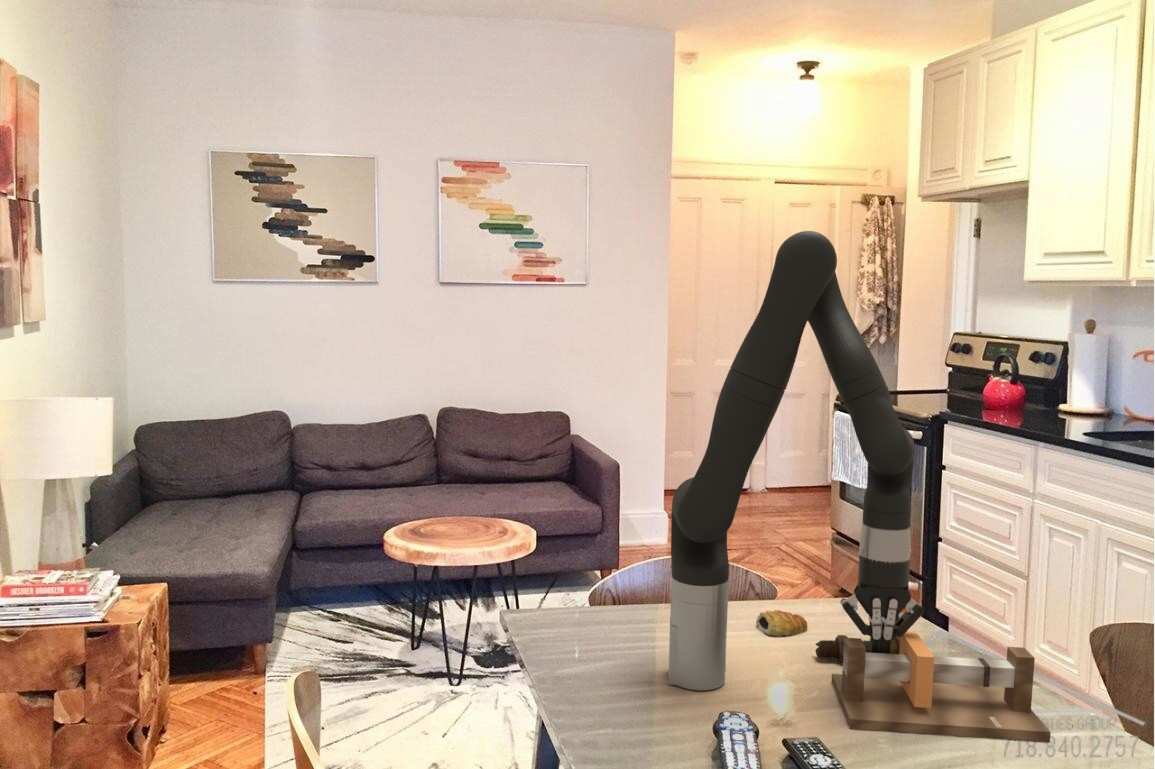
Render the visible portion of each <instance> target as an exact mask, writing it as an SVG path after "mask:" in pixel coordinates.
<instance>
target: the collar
mask: <svg viewBox="0 0 1155 769" xmlns="http://www.w3.org/2000/svg"><path fill="white" fill-rule="evenodd" d="M900 654H902V655H908V657H909V658H910V660H911V676H910V681H900V683H901V684H902V686H903V688H904V690H905V691H906V693H907V695H908V696H909V698H910V700H911V702H912V703H913V705H914V707H924V708H931V704H932V688H933V671H934V654H933V653H932V652H931V650H930V649H929V648H928V646H927V645H926V644H925V642H924V641H923V639H922V638H921V637H920V635H919V634H918V632H917V631H907V632H906V633H905V634H904V635H903V636H901V638H900Z"/></svg>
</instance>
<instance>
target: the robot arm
mask: <svg viewBox="0 0 1155 769" xmlns="http://www.w3.org/2000/svg"><path fill="white" fill-rule="evenodd" d="M835 249H836V248H835V246H834V245H833V244H832V242H831V241H830V240H829V238H827V237H826V236H825V235H824V234H822V233H820V232H818V231H814V230H803V231H800V232H796V233H794V234H792V235H791V236H788V237H787V238H786V239H785V240H784V241H783V242H782V243H781V245H780V246H779V248H778V250H777V252H776V254H775V255H776V256H775V260H774V264H773V269H772V272H771V275H770V279H769V282H768V285H767V289H766V293H765V295H764V298H763V301H762V303H761V306H760V309H759V311H758V313H757V315H756V318H754V321H753V323H752V325H751V326H750V329H749V330H748V332H747V333H746V335H745V337H744V339H743V341H742V343H741V345H740V346H739V348H738V350H737V353H736V354H735V357H734V359H733V361H732V364H730V369H729V370H728V373H727V374H726V378H725V380H724V382H723V385H722V387H721V390H720V393H719V394H718V395H719V396H718V399H717V402H716V406H715V410H714V415H713V419H712V425H711V428H710V429H711V430H710V434H709V439H708V443H707V446H706V449H705V453H704V455H703V458H702V459H701V463H700V464H699V465H698V469H697V470H696V472H695V475H694V476H693V477H690V478H688V479H686V480H684V481H683V482H681V484H680V485H679V486H677V488H676V489H675V491H674V494H673V495H672V496H673V497H672V501H671V516H670V518H671V521H670V522H671V523H670V524H671V525H670V526H671V527H670V528H671V529H670V531H671V532H670V557H671V558H670V559H671V585H670V586H671V587H670V612H669V613H670V617H669V638H668V639H669V640H668V641H669V642H668V643H669V644H668V646H669V647H668V652H669V653H668V675H667V676H668V682H667V684H668V685H671V686H672V685H673V686H677V687H679V688H682V689H686V690H691V691H712V690H715V689H719V688H721V687H722V686H723V685H725V681H726V668H727V667H726V661H727V635H728V634H727V633H728V632H727V631H728V630H727V629H728V609H729V608H728V606H729V605H728V604H729V579H730V578H729V576H730V572H729V571H730V563H729V554H728V553H729V552H728V530H730V528H731V527H732V525H733V522H734V519H735V515H736V512H737V510H738V508H737V507H738V505H739V501H740V497H741V495H742V491H743V488H744V485H745V481H746V478H747V476H748V474H749V473H748V472H749V470H750V467H751V465H752V463H753V460H754V459H755V457H756V455H757V453H758V451H759V450H760V447H761V445H762V443H763V442H764V439H765V437H766V435H767V432H768V431H769V428H770V426H771V423H772V421H773V419H774V418H775V415H776V413H777V411H778V408H779V407H780V404H781V401H782V399H783V396H784V394H785V391H786V390H787V387H788V384H789V381H790V379H791V375H792V373H793V369H794V366H795V363H796V360H797V356H798V352H799V349H800V344H801V341H802V337H803V335H804V334H803V333H804V330H805V329H806V325H807V323H809V326H810V328H811V330H812V332H813V334H814V336H815V338H816V341H817V344H818V346H819V348H820V351H821V354H822V356H823V358H824V362H825V364H826V365H827V366H826V367H827V369H828V371H829V373H830V374H829V375H830V376H831V379H832V381H833V383H834V385H835V387H836V388H835V389H836V390H837V392H838V395H839V397H840V399H841V401H842V404H843V405H844V407H845V409H846V411H847V412H848V413H847V414H849V416H850V420H851V422H852V426H853V429H854V432H855V435H856V438H857V441H858V444H859V447H860V449H861V452H862V454H863V456H864V459H865V460H866V462H867V484H866V488H865V492H864V497H863V506H862V507H863V508H862V523H861V525H862V526H861V529H860V530H861V531H860V534H859V535H860V537H859V550H858V551H859V552H858V553H859V554H858V573H857V574H858V575H857V584H856V586H855V588H854V589H853V594H852V595H851V596H849V597H847V598H841V600H840V602H839V603H840V605H841V607H842V609H843V611H844V612H845V613H846V614H847V615H848V617H849V618H850V619H851V621H852V622H853V624H854V625H855V626H856V627H857V629H858V630H859V631H860V633H861V634H862V635H864V636H869V637H870V638H869V641H870V653H885V654H890V646H891V639H892V638H893V637H896V636H898V637H901V636H903V635H904V634H905V633H906V632H909V630H910V629H911V627H912V626H914V624H915V623H916V622H917V621H918V620H919V619H920V618H921V617H922V615H923V614H924V613H925V608H924V606H922V604H921V603H920V602H919V601H915V600H914V599H913V598H912V593H911V591H910V588H909V584H910V567H911V566H910V565H911V564H910V563H911V555H912V547H911V545H912V543H911V542H912V541H911V537H912V536H911V516H912V514H911V512H912V511H911V510H912V499H911V486H912V480H913V479H912V477H913V470H914V461H915V460H914V459H915V450H916V449H915V448H916V446H915V441H914V439H913V436H912V434H911V433H910V432H909V431H908V430H907V429H906V428H905V427H903V425H902V423H901V421H900V419H899V416H898V415H897V413H896V410H895V408H894V406H893V402H892V395H891V392H890V390H889V387H888V385H887V382H886V381H885V378H884V376H883V375H882V372H881V369H880V367H879V365H878V363H877V361H876V359H875V357H874V355H873V353H872V351H871V350H870V347H869V346H868V344H867V343H866V341H865V339H864V337H863V336H862V334H861V332H860V331H859V329H858V327H857V326H856V324H855V322H854V320H853V318H852V316H851V314H850V312H849V310H848V307H847V305H846V302H845V300H844V298H843V295H842V291H841V288H840V285H839V280H838V277H837V273H836V270H837V267H838V266H837V265H838V264H837V263H838V258H837V256H838V255H837V253H836V250H835ZM858 602H859V604H860V606H861V607H862V608H863V610H864V611H865V612H866V614H867V615H868V621H869V622H868V624H867V623H866V622H865V621H864V620H863V619H862V616H860V615H859V613H858V612H857V611H858V609H859V606H858ZM906 605H907V606H906ZM905 606H906V612H905V613H904V614H903V615H902V616H901V617H900V618H899V619H898V620H897V621H896V623H895V617H896V616H897V615H898V614H899V613H900V612H901V611H902V610H903V608H904V607H905ZM881 619H882V622H881ZM894 623H895V624H894ZM880 625H881V629H880Z"/></svg>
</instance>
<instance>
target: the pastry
mask: <svg viewBox="0 0 1155 769" xmlns="http://www.w3.org/2000/svg"><path fill="white" fill-rule="evenodd" d="M755 624H756V626H757V628H758V630H759V631H761V632H764V633H765V634H766V635H768V636H772V637H782V636H785V637H786V636H787V637H788V636H793V635H798V634H801V632H802V633H804V632H805V631H807V630H808V627H809V626H808V622H807V620H806V619H805V618H804V617H803V616H801V615H799V614H796V613H794V614H793V613H792V612H788V611H782V610H780V609H779V610H778V609H776V610H773V611H772V610H765V611H761V612H760V613H759V615H758V616H757V618H756V621H755Z"/></svg>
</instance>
